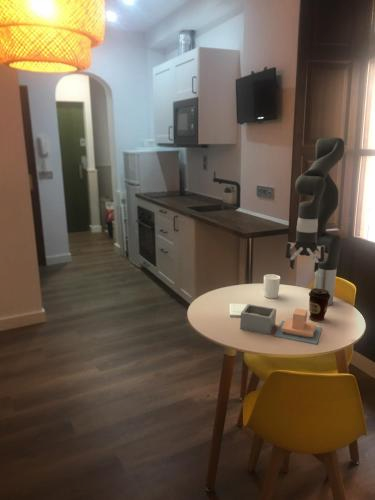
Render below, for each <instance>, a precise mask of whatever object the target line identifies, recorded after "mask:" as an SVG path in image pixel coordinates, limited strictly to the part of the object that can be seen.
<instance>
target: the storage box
mask: <svg viewBox="0 0 375 500" xmlns="http://www.w3.org/2000/svg"><path fill="white" fill-rule="evenodd" d="M246 304H247V306H246V307H245V308H244V310H243V311H242V312H241V317H240V323H239V329H240V330H244V331H249V332H254V333H259V334H264V335H269V336H270V335H271V333H272V331H273V329H274V327H275V326H276V319H277V318H276V316H277V308H273V307H267V306H261V305H255V304H251V303H250V304H249V303H246Z"/></svg>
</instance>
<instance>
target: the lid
mask: <svg viewBox="0 0 375 500" xmlns="http://www.w3.org/2000/svg"><path fill="white" fill-rule="evenodd" d="M307 317H308V309H304V308H303V309H302V308H297V307H296V308H295V309H294V311H293V313H292V318H285V319H284V321H285V322H284V324H283V326H282V328H281V331H284V332H285V333H288V334H293V335H298V336H303V337H308V338H310V337H313V335H314V332H315V328H316V327H317V323H316V322H308V321H307Z"/></svg>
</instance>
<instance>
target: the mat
mask: <svg viewBox="0 0 375 500" xmlns="http://www.w3.org/2000/svg"><path fill="white" fill-rule="evenodd" d="M284 322H285V320H282V321H281V322H280V324H279V326H278V328H277V330H276V332H275V333H274V335H273V336H274V337H277V338H281V339H285V340H286V339H287V340H291V341H297V342H302V343H306V344H312V345H316V346H317V345H318V342H319V339H320V336H321V332H322V327H319V326H316V328H315V332H314V335H313V337H310V338H308V337H303V336H298V335H293V334H288V333H285V332H284V331H281V328H282V326H283V324H284Z"/></svg>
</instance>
